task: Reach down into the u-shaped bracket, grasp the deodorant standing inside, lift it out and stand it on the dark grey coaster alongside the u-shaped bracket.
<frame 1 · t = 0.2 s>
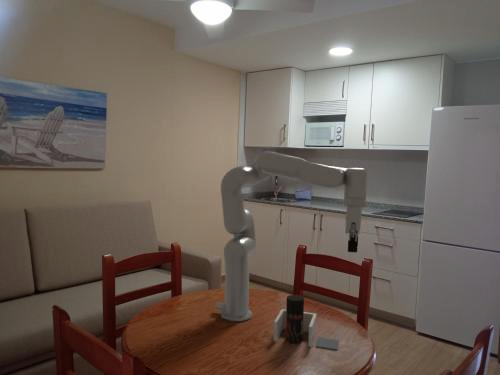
hand: (352, 249, 142), 31 cm above the table, tool pointing down, fingers open, 9 cm apart
deodorant: (294, 340, 137), on the table
u-shaped bracket: (294, 337, 138), on the table
coaster: (327, 344, 134), on the table
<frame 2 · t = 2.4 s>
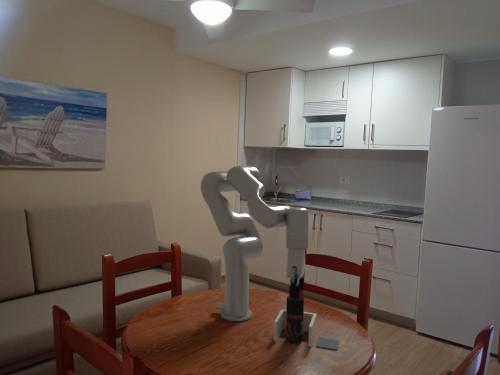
hand: (296, 292, 135), 17 cm above the table, tool pointing down, fingers open, 9 cm apart
nothing on the table moved.
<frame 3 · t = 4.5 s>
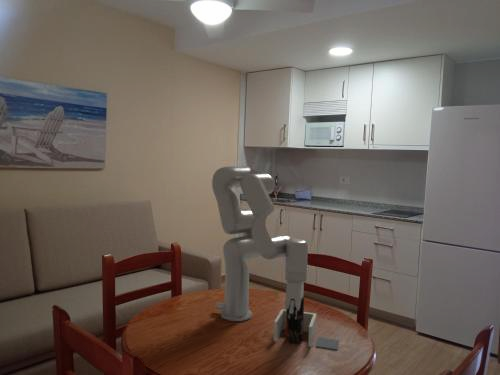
hand: (294, 325, 136), 5 cm above the table, tool pointing down, fingers closed on deodorant, 5 cm apart
deodorant: (294, 340, 137), on the table, touching gripper
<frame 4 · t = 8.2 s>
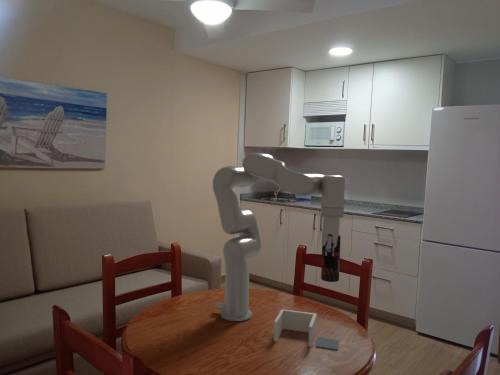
hand: (330, 264, 132), 28 cm above the table, tool pointing down, fingers closed on deodorant, 5 cm apart
deodorant: (329, 279, 132), point 22 cm above the table, touching gripper
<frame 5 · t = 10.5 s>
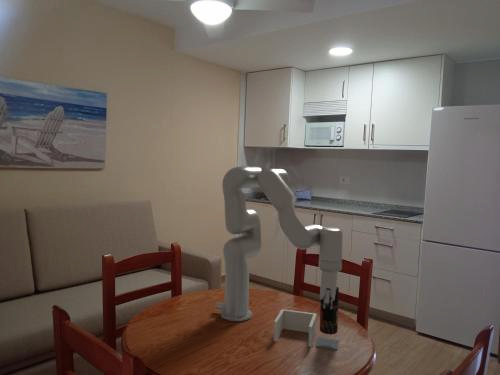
hand: (328, 316, 133), 10 cm above the table, tool pointing down, fingers closed on deodorant, 5 cm apart
deodorant: (328, 331, 133), point 5 cm above the table, touching gripper
when the fingers open (6 cm above the table, at t = 12.1 s): deodorant stays where it is, resting on coaster.
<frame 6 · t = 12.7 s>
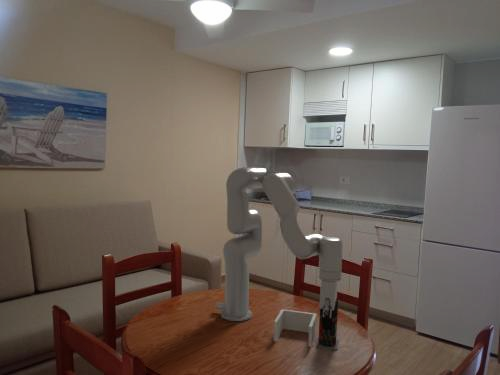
hand: (328, 323, 133), 7 cm above the table, tool pointing down, fingers open, 9 cm apart
deodorant: (327, 343, 134), resting on coaster
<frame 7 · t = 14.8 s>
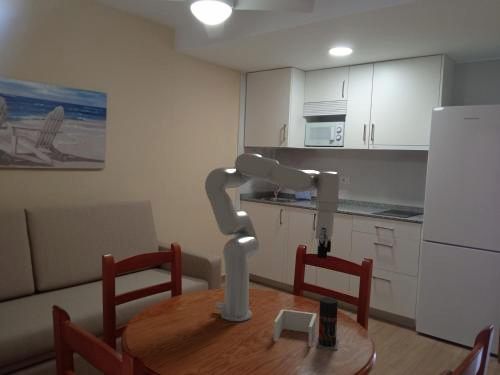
hand: (324, 254, 138), 29 cm above the table, tool pointing down, fingers open, 9 cm apart
nothing on the table moved.
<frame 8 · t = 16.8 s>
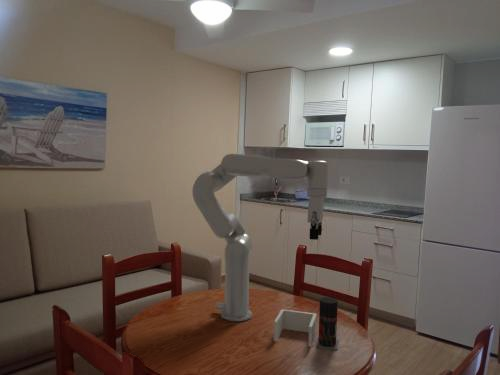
hand: (315, 237, 151), 33 cm above the table, tool pointing down, fingers open, 9 cm apart
nothing on the table moved.
at the end: deodorant inside the target area on the coaster (0.1 cm from its centre), point 0.2 cm above the coaster's base; deodorant tilted 0°; deodorant touching coaster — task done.
